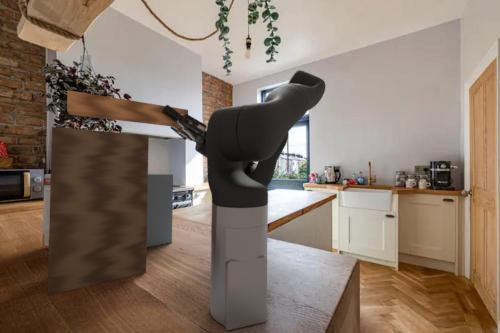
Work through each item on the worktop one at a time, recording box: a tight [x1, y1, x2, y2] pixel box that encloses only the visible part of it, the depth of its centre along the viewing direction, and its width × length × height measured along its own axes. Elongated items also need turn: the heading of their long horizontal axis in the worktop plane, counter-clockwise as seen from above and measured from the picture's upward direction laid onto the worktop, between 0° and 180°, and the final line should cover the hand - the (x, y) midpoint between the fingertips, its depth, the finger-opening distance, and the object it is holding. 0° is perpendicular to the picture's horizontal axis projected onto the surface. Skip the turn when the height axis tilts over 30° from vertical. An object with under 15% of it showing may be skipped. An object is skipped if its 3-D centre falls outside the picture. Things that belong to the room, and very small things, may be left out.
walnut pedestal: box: [47, 126, 150, 296], centre depth 48 cm, size 16×10×30 cm, turn 124°
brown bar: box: [66, 90, 189, 127], centre depth 52 cm, size 24×4×4 cm, turn 124°
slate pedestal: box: [146, 173, 174, 248], centre depth 68 cm, size 16×10×21 cm, turn 124°
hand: (162, 110), depth 55 cm, fingers closed on brown bar, 4 cm apart
